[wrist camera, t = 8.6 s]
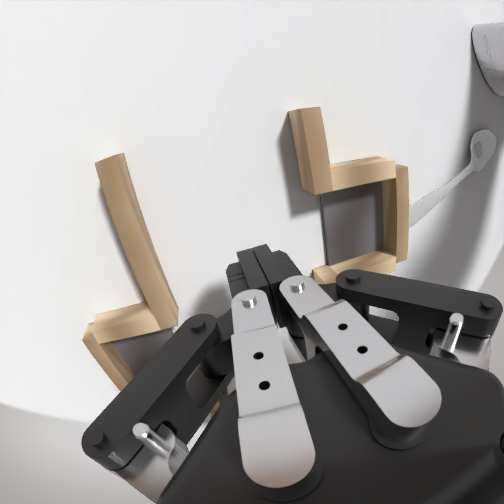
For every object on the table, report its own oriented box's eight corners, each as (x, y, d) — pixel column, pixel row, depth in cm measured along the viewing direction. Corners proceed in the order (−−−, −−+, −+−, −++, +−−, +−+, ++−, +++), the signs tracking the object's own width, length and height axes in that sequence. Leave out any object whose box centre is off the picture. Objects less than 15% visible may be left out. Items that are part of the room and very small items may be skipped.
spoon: (490, 152, 20) (500, 154, 18) (377, 265, 21) (388, 274, 20) (482, 119, 18) (493, 121, 16) (360, 229, 20) (372, 237, 18)
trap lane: (382, 104, 16) (410, 103, 13) (382, 343, 25) (397, 361, 23) (30, 195, 13) (6, 207, 10) (155, 413, 23) (155, 437, 20)
